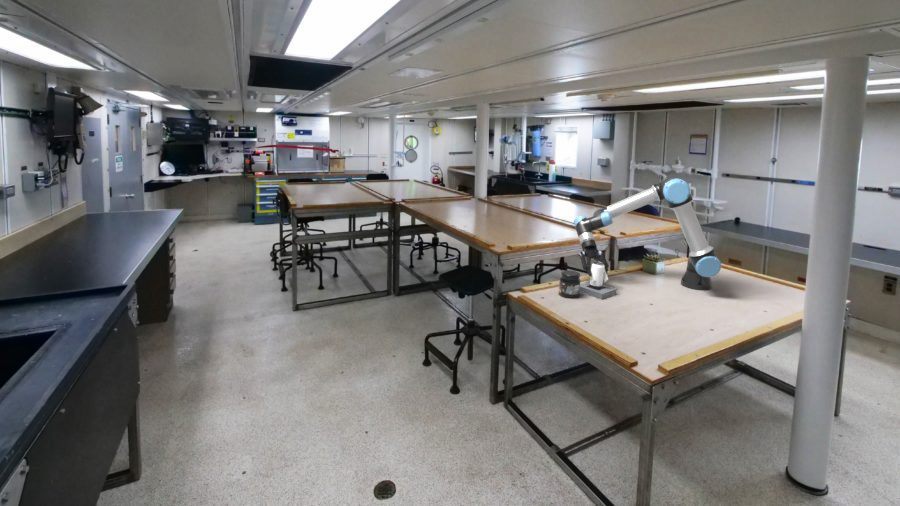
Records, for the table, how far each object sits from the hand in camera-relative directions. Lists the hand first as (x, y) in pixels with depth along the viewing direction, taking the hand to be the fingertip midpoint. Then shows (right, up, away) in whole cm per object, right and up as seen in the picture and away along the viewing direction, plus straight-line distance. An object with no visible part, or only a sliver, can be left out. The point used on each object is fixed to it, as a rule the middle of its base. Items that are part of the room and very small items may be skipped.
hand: (600, 280), depth 240 cm
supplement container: (-16, -8, +1) cm, 18 cm away
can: (-1, -3, +4) cm, 5 cm away
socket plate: (-1, -6, +5) cm, 8 cm away
